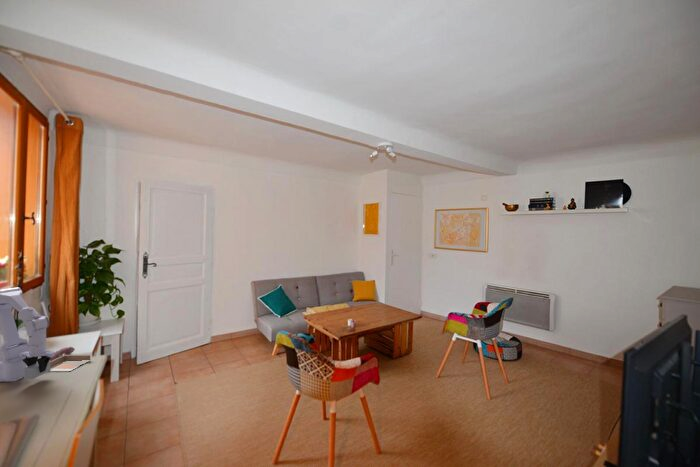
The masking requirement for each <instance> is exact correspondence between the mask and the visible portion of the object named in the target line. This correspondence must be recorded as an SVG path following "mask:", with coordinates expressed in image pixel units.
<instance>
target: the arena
mask: <svg viewBox="0 0 700 467" xmlns="http://www.w3.org/2000/svg"><path fill="white" fill-rule="evenodd" d="M82 360H90V361H91V354H70V355H64V354H63V356H61V357H59V358H56V359H54V360H52V361H50V360H49V361H50V371H49V372H48V373H51V372H53V373H55V372H56V373H59V372H60V373H61V372H62V373H68V371H71V372H73V371H74V370H73V369H75V368H76V369H78V368H77V365H76V366H75V365H73V366H72V365H70V364H64V363H63V362H66V361H82ZM76 369H75V370H76ZM72 370H73V371H72ZM65 371H66V372H65Z"/></svg>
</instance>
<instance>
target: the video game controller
mask: <svg viewBox="0 0 700 467" xmlns="http://www.w3.org/2000/svg"><path fill="white" fill-rule="evenodd" d="M75 350H76V349H75V348H74V347H72V346H69V347H67V346H66V347H63V348H61V349H59V350H56V351H54V352H55V356H53V357H51V359H50V360H49V361H52V360H54V359H57V358H59V357H61V356H63V355H72V353H73V352H74V351H75Z"/></svg>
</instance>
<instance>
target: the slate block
mask: <svg viewBox="0 0 700 467" xmlns="http://www.w3.org/2000/svg"><path fill="white" fill-rule="evenodd" d="M49 371H50V360H49V362H48V364H47V367H46V370H45V371H44V372H41V373H40V371H39V365H38V362H37V363H35V364H33V365H31V366H29V367H27V366H26V368H24V377H23V379H24V380H34V379H36V378H38V377H41V376H43V375H44V374H47V373H50V372H49Z"/></svg>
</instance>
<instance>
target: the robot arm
mask: <svg viewBox="0 0 700 467" xmlns="http://www.w3.org/2000/svg"><path fill="white" fill-rule="evenodd" d="M12 308H14V309H15V310H16V311H17V312H18V314H17V316H18V317H19V318H20V320H21V321H22V322H23V323H24V324H25V325H24V329H25V330H26V335H27V336H28V339H25V338H22V337H20V335H19V331H18V328H17V325H16V321H15V318H14V315H13V311H12ZM49 326H50V320H49V318H48V317H47V316H45V315H41V314H40V313H39V312H38V311H37V310H36V309H35V308H34V307H33V306H32V307H31V306H28V304H27V303H26V302H25V300H24V298H23V290H22V289H21V288H20V287H18V286H15V287H11V288H9V287H8V288H4V289H3V288H2V289H0V331H1V335H2V339H3V343H2V344H0V382H17V381H19V380H22V379H24V368H26V367H29V366H31V365H33V364H35V363H38V365H39V371H40V373H41V372H44V371H45V370H46V367H47V364H48V362H49V361H50V359H51V357H53V356H55V352H56V351H51V350H48V349H47V328H49Z"/></svg>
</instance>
